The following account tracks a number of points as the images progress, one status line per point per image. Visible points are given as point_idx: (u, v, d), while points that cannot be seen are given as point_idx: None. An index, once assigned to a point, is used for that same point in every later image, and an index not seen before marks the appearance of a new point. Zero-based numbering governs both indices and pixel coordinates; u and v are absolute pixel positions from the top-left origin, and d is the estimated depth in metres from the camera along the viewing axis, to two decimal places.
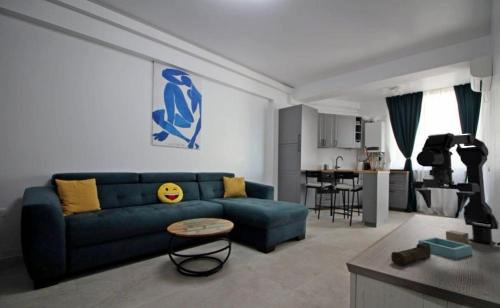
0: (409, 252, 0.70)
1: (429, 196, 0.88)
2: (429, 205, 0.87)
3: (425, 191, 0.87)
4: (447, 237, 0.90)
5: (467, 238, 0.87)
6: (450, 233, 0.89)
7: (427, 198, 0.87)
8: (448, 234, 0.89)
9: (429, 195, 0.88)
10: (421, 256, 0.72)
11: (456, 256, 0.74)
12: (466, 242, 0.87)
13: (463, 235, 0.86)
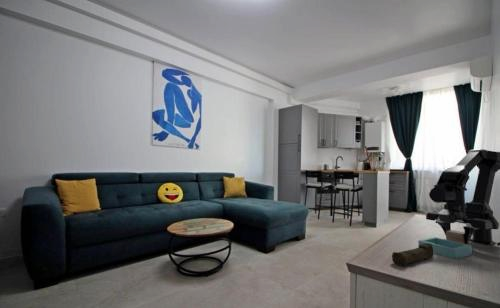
0: (410, 252, 0.69)
1: (449, 229, 0.92)
2: None
3: (445, 224, 0.92)
4: (447, 237, 0.90)
5: None
6: (450, 233, 0.89)
7: None
8: (448, 234, 0.89)
9: (449, 228, 0.92)
10: (423, 257, 0.71)
11: (456, 256, 0.74)
12: None
13: (463, 235, 0.86)
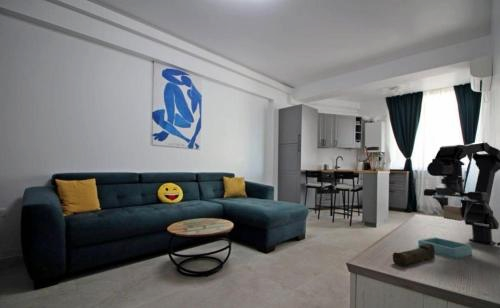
0: (411, 253, 0.69)
1: (446, 204, 0.92)
2: None
3: (442, 199, 0.92)
4: (444, 211, 0.90)
5: None
6: (447, 207, 0.89)
7: None
8: (445, 208, 0.90)
9: (446, 203, 0.92)
10: (424, 257, 0.71)
11: (456, 256, 0.74)
12: None
13: (460, 208, 0.86)
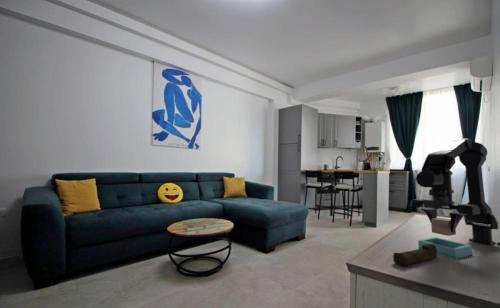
0: (412, 253, 0.69)
1: (435, 216, 0.85)
2: None
3: (431, 211, 0.84)
4: (432, 225, 0.83)
5: None
6: (435, 220, 0.82)
7: None
8: (433, 221, 0.82)
9: (435, 215, 0.85)
10: (425, 258, 0.71)
11: (456, 256, 0.74)
12: None
13: (449, 222, 0.79)
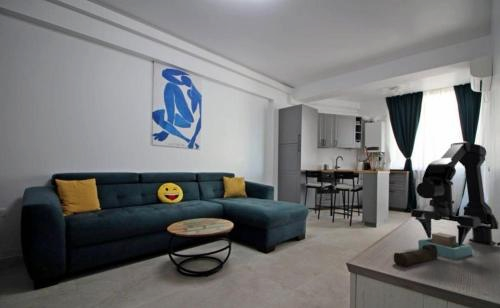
0: (412, 253, 0.69)
1: (429, 225, 0.86)
2: (429, 235, 0.85)
3: (425, 220, 0.86)
4: (433, 240, 0.82)
5: (455, 241, 0.80)
6: (436, 236, 0.81)
7: (427, 228, 0.86)
8: (434, 237, 0.82)
9: (429, 224, 0.86)
10: (426, 258, 0.70)
11: (456, 256, 0.74)
12: (453, 246, 0.79)
13: (450, 238, 0.79)
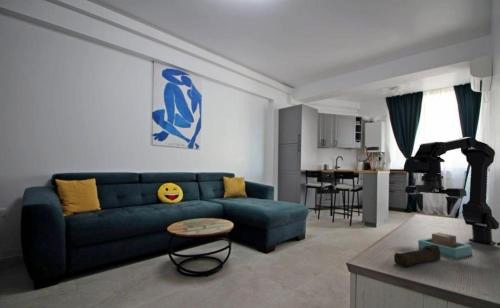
0: (413, 254, 0.68)
1: (421, 200, 0.95)
2: (421, 208, 0.94)
3: (417, 195, 0.94)
4: (433, 240, 0.82)
5: (455, 241, 0.80)
6: (436, 236, 0.81)
7: (419, 202, 0.94)
8: (434, 237, 0.82)
9: (421, 199, 0.95)
10: (427, 258, 0.70)
11: (456, 256, 0.74)
12: (453, 246, 0.79)
13: (450, 238, 0.79)
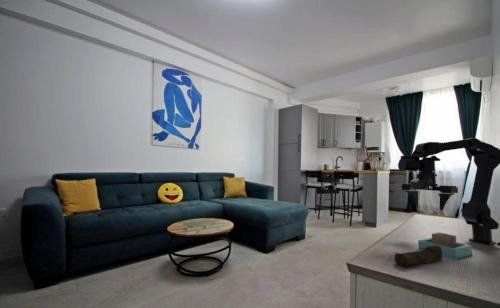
0: (414, 254, 0.68)
1: (416, 196, 1.01)
2: (416, 204, 1.00)
3: (413, 192, 1.00)
4: (433, 240, 0.82)
5: (455, 241, 0.80)
6: (436, 236, 0.81)
7: (415, 198, 1.00)
8: (434, 237, 0.82)
9: (416, 196, 1.01)
10: (429, 259, 0.70)
11: (456, 256, 0.74)
12: (453, 246, 0.79)
13: (450, 238, 0.79)
